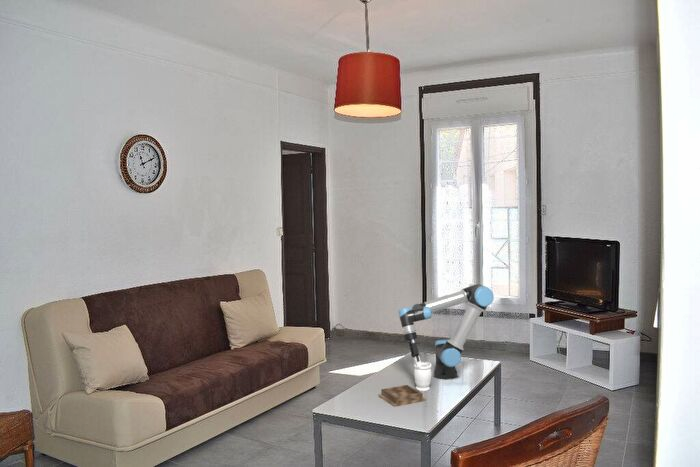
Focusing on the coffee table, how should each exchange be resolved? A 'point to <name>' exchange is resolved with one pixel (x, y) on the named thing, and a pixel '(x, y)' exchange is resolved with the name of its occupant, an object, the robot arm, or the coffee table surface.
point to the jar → (423, 376)
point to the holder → (401, 395)
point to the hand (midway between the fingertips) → (418, 368)
